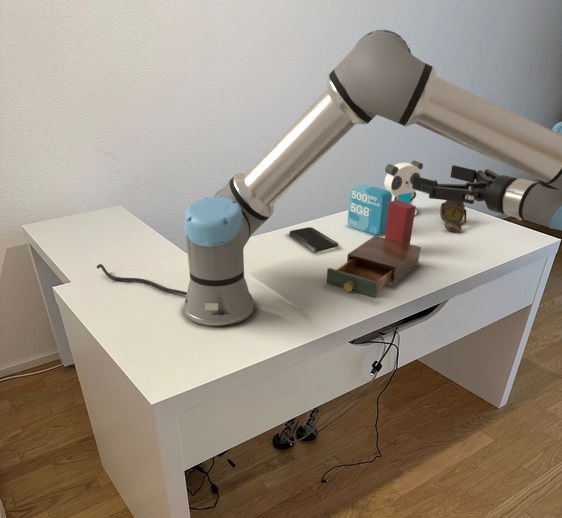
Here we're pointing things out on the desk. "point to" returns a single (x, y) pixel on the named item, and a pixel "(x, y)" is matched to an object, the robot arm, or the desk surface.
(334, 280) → the drawer
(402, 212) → the card box
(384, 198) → the data package
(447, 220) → the vintage travel clock
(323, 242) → the phone
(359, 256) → the box
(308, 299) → the desk surface
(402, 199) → the panda figurine
